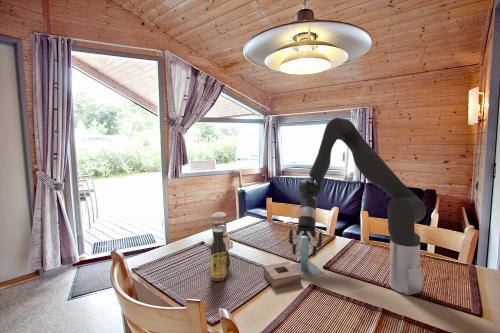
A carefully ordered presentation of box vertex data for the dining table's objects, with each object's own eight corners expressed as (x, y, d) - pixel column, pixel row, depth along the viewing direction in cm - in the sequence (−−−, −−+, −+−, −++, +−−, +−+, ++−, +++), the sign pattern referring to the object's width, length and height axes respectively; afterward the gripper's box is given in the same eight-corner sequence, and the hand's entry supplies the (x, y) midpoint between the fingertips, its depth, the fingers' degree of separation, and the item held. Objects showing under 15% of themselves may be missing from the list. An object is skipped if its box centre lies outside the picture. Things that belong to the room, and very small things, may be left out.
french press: (221, 243, 145) (219, 197, 143) (205, 239, 152) (202, 195, 149) (232, 237, 153) (230, 194, 151) (216, 234, 160) (214, 192, 157)
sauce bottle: (213, 284, 105) (211, 234, 103) (209, 276, 111) (206, 229, 109) (229, 280, 108) (227, 231, 106) (224, 273, 113) (222, 226, 111)
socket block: (300, 283, 103) (300, 273, 103) (274, 289, 100) (273, 279, 100) (288, 270, 114) (288, 261, 113) (263, 275, 111) (263, 265, 110)
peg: (310, 270, 113) (309, 237, 111) (303, 271, 112) (302, 239, 110) (306, 267, 116) (305, 235, 114) (299, 268, 115) (299, 236, 113)
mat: (325, 274, 110) (325, 273, 110) (298, 279, 106) (298, 279, 106) (310, 261, 121) (310, 261, 121) (285, 266, 118) (285, 265, 118)
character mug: (208, 265, 121) (206, 236, 120) (217, 258, 127) (216, 231, 126) (229, 269, 116) (228, 240, 115) (237, 262, 123) (236, 234, 121)
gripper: (290, 214, 121) (285, 249, 111) (323, 216, 116) (321, 253, 106) (292, 222, 126) (287, 256, 117) (324, 224, 122) (322, 260, 112)
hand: (304, 255), depth 112 cm, fingers open, 7 cm apart
